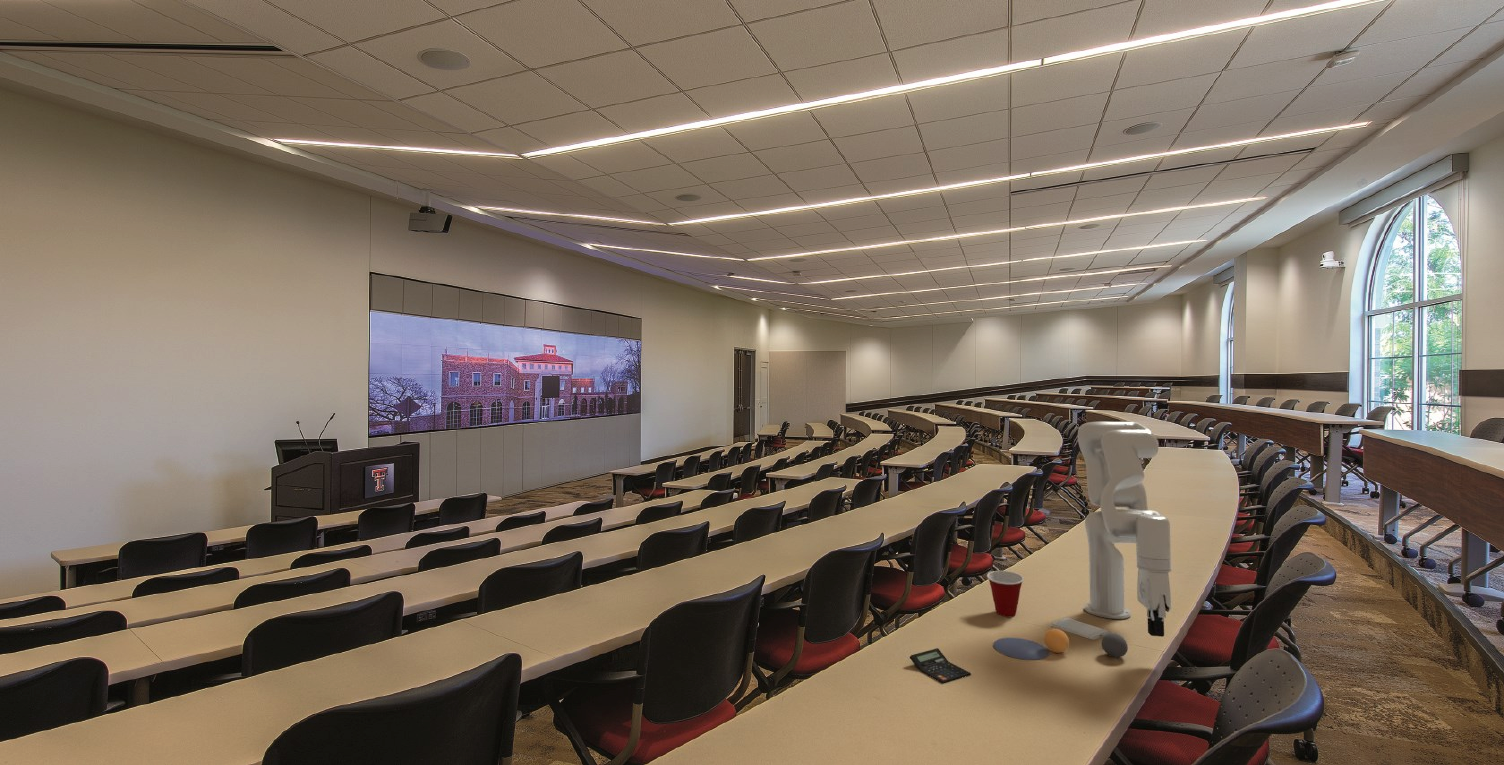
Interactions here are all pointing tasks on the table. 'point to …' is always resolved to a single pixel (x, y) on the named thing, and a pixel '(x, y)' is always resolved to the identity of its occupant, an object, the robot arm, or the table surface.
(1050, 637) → the object ball
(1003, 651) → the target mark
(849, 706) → the table surface
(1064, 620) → the hard drive
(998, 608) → the plastic cup
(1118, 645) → the gray ball
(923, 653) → the calculator
